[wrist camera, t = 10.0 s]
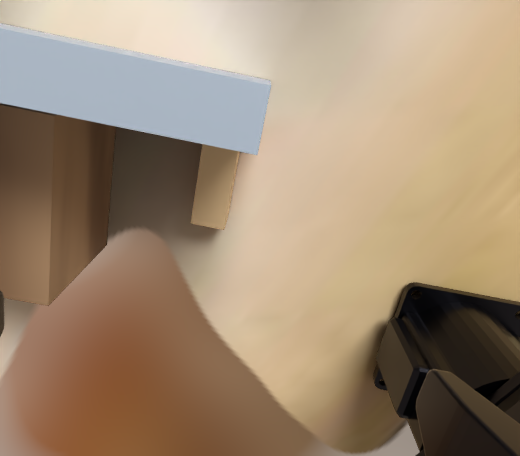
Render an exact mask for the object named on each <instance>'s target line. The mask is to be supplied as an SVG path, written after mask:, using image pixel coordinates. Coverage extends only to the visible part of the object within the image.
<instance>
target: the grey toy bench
mask: <svg viewBox="0 0 520 456" xmlns="http://www.w3.org/2000/svg"><path fill="white" fill-rule="evenodd" d="M270 89H271V82H270V80H266V79H261V78H256V77H252V76H247V75H242V74H238V73H233V72H228V71H223V70H219V69H214V68H209V67H205V66H200V65H195V64H190V63H186V62H181V61H176V60H172V59H167V58H162V57H157V56H153V55H148V54H143V53H139V52H134V51H129V50H124V49H120V48H115V47H110V46H106V45H101V44H96V43H91V42H87V41H82V40H77V39H73V38H68V37H63V36H58V35H54V34H49V33H44V32H40V31H35V30H30V29H25V28H21V27H16V26H11V25H7V24H2V23H0V103H3V104H8V105H13V106H18V107H23V108H28V109H33V110H38V111H42V112H47V113H52V114H57V115H62V116H67V117H72V118H77V119H82V120H87V121H92V122H97V123H102V124H106V125H111V126H116V127H121V128H126V129H131V130H136V131H141V132H146V133H151V134H156V135H161V136H166V137H170V138H175V139H180V140H185V141H190V142H195V143H200V144H202V150H201V157H200V163H199V170H198V176H197V183H196V190H195V196H194V203H193V210H192V216H191V223H190V224H195V225H201V226H206V227H211V228H216V229H221V230H224V228H225V225H226V221H227V218H228V214H229V208H230V203H231V197H232V192H233V186H234V181H235V175H236V170H237V164H238V159H239V153H240V152H244V153H249V154H254V155H257V154H258V149H259V144H260V139H261V134H262V129H263V124H264V119H265V114H266V109H267V104H268V99H269V94H270Z"/></svg>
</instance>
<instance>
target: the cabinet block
mask: <svg viewBox="0 0 520 456" xmlns="http://www.w3.org/2000/svg"><path fill="white" fill-rule="evenodd" d="M115 133H116V126H111V125H106V124H102V123H97V122H92V121H87V120H82V119H77V118H72V117H67V116H62V115H57V114H52V113H47V112H42V111H38V110H33V109H28V108H23V107H18V106H13V105H8V104H3V103H0V291H1V292H2V293H3V295H4V298H8V299H13V300H19V301H24V302H30V303H35V304H41V305H47V306H49V305H50V304H51V303H52V301H54V300H55V299H56V298H57V296H58V295H59V294H60V293H61V292H62V291H63V290H64V289H65V288H66V287H67V286H68V285H69V284H70V283H71V282H72V281H73V280H74V279H75V278H76V277H77V276H78V275H79V274H80V272H81V271H82V270H83V269H84V268H85V267H86V266H87V265H88V264H89V263H90V262H91V261H92V260H93V259H94V258H95V257H96V256H97V255H98V254H99V253H100V252H101V251H102V250H103V248H104V247H105V246H106V245H107V233H108V220H109V208H110V195H111V183H112V171H113V158H114V146H115Z"/></svg>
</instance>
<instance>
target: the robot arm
mask: <svg viewBox="0 0 520 456" xmlns="http://www.w3.org/2000/svg"><path fill="white" fill-rule="evenodd" d="M417 290H418V291H419V292H418V294H416V295H411V294H412V292H413V291H417ZM518 311H520V302H516V301H510V300H505V299H500V298H495V297H490V296H484V295H479V294H474V293H469V292H464V291H458V290H453V289H448V288H443V287H438V286H432V285H427V284H422V283H415V282H413V283H410V284H408V285H407V286H406V287H405V289H404V291H403V294H402V297H401V300H400V302H399V305H398V308H397V311H396V314H395V316H394V317H393V318H392V319H391V320H389V322H388V325H387V328H386V331H385V333H384V336H383V339H382V342H381V345H380V347H379V350H378V353H377V356H376V360H377V363H378V364H377V366H376V369H375V372H374V375H373V380H374V383H375V386H376V387H377V388H379V389H383V390H388V392H389V395H390V398H391V400H392V403H393V406H394V408H395V411H396V412H397V414H398V415H399V417H402V418H407V421H408V423H409V426H410V428H411V431H412V433H413V436H414V438H415V441H416V443H417V446H418V448H419V450H420V453H418V454H417V455H416V456H520V313H519V314H517V315H515V314H516V313H517V312H518ZM3 329H4V295H3V293H2V292H1V291H0V336H1V334H2V332H3ZM382 378H383V379H384V380H383V381H380V379H382Z"/></svg>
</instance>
